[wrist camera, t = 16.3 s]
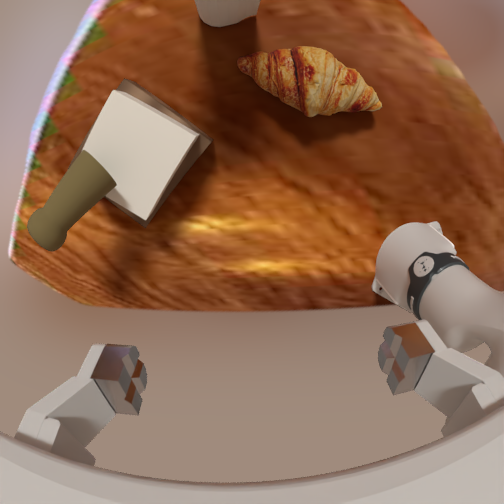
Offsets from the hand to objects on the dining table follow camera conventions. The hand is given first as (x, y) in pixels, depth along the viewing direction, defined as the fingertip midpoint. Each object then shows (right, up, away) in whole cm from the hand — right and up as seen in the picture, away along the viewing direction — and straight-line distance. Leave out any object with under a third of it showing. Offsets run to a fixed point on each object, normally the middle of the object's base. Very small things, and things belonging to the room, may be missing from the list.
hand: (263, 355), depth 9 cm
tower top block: (-15, +16, +25) cm, 34 cm away
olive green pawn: (-17, +13, +20) cm, 29 cm away
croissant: (+7, +25, +28) cm, 38 cm away
